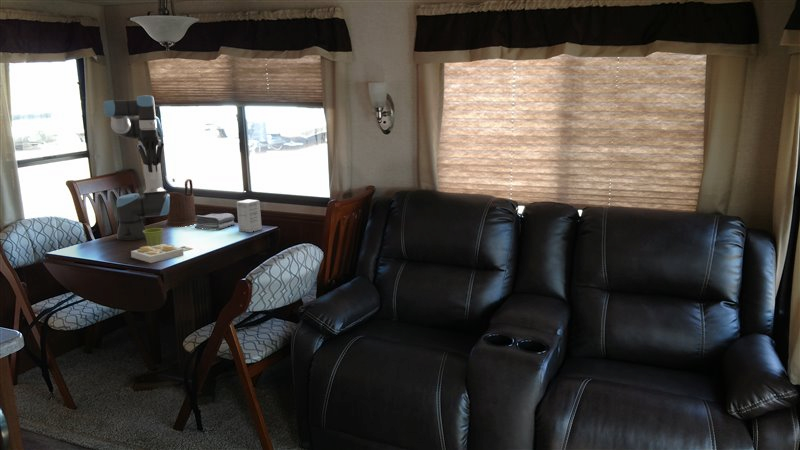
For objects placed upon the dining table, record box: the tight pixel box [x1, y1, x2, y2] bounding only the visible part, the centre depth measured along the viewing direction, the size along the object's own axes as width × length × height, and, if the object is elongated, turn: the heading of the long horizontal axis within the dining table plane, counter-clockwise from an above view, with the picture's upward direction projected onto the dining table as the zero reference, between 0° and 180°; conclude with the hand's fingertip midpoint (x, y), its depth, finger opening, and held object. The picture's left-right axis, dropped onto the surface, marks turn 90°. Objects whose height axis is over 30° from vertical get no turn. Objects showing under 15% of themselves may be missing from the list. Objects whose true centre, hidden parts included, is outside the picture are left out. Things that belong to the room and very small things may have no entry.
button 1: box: [139, 245, 151, 253], centre depth 288 cm, size 5×5×3 cm
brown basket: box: [165, 178, 198, 228], centre depth 359 cm, size 18×24×25 cm
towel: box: [194, 212, 236, 231], centre depth 350 cm, size 15×18×8 cm
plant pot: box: [143, 227, 164, 247], centre depth 306 cm, size 9×9×9 cm
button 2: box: [148, 251, 160, 255], centre depth 284 cm, size 5×5×3 cm
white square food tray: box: [130, 243, 184, 264], centre depth 289 cm, size 17×17×3 cm
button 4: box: [163, 244, 175, 252], centre depth 289 cm, size 5×5×3 cm
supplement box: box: [236, 198, 263, 233], centre depth 339 cm, size 10×9×17 cm
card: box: [178, 246, 194, 252], centre depth 301 cm, size 7×7×1 cm
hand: (153, 178), depth 288 cm, fingers closed
